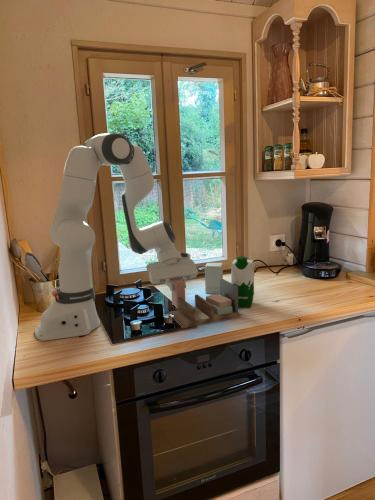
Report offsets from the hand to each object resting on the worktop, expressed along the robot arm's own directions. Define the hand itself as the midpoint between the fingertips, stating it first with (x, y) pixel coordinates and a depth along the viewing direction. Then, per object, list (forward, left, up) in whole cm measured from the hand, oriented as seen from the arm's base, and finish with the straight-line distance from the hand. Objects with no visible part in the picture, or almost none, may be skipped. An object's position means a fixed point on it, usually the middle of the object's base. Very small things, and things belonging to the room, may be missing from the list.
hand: (178, 288), depth 151 cm
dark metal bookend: (+14, -15, -6) cm, 21 cm away
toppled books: (+10, -14, -6) cm, 18 cm away
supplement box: (+23, +11, -8) cm, 27 cm away
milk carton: (+23, -11, -8) cm, 27 cm away
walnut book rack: (+4, -14, -8) cm, 16 cm away
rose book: (0, +1, -8) cm, 8 cm away
